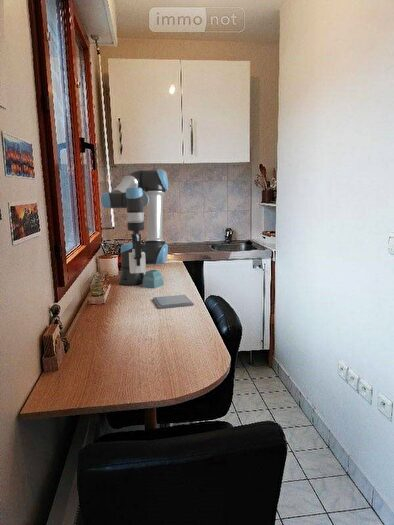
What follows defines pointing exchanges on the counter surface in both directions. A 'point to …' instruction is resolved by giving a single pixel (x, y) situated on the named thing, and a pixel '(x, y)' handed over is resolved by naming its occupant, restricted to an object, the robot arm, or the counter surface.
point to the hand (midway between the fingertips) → (137, 271)
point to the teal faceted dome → (152, 279)
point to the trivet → (172, 301)
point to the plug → (132, 262)
